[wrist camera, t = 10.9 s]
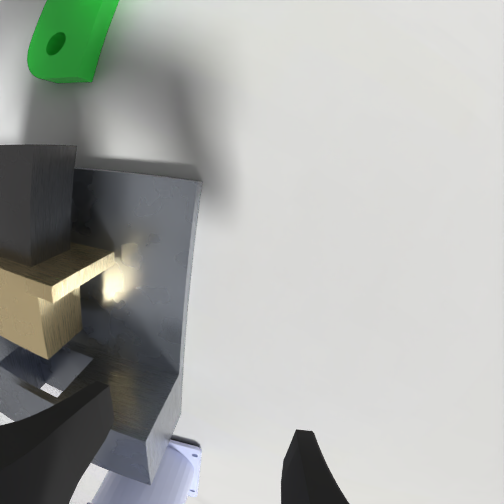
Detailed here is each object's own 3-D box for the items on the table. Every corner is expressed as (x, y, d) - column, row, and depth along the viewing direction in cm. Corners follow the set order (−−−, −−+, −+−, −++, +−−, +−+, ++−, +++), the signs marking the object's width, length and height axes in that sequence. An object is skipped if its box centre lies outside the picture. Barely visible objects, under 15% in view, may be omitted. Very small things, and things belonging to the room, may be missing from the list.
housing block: (180, 413, 22) (150, 485, 15) (14, 348, 23) (-33, 386, 16) (202, 181, 17) (147, 191, 10) (-2, 163, 18) (-72, 171, 11)
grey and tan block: (114, 330, 19) (65, 381, 13) (21, 297, 19) (-31, 329, 13) (123, 148, 16) (54, 144, 10) (20, 145, 16) (-45, 147, 10)
